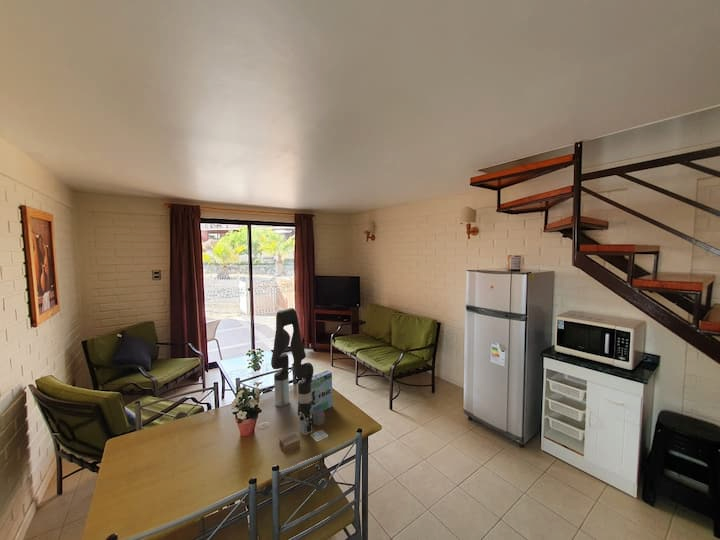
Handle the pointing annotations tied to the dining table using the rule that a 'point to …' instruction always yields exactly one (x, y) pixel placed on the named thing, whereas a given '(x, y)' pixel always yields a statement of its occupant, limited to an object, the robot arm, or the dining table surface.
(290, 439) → the walnut block
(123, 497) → the dining table surface
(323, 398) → the gum box
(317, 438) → the swatch
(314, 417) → the translucent grey cup
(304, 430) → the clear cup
